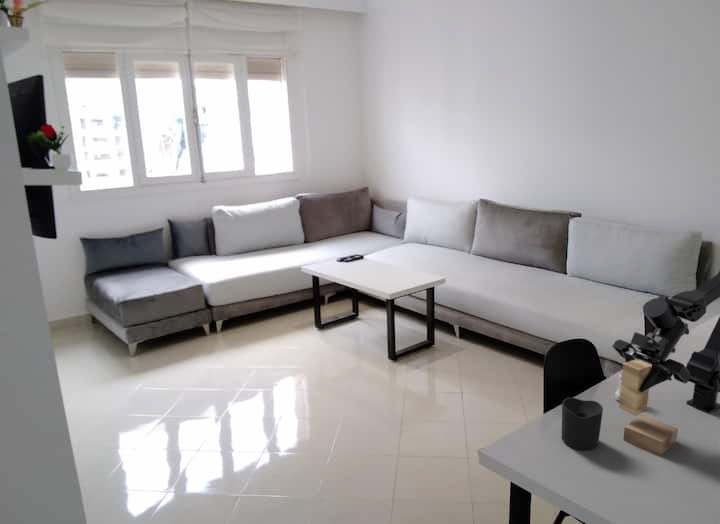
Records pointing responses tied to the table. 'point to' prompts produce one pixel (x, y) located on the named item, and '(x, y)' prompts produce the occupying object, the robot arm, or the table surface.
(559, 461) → the table surface
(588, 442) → the pen holder
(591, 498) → the table surface
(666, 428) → the light brown block
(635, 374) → the oak pillar
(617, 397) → the rook chess piece
